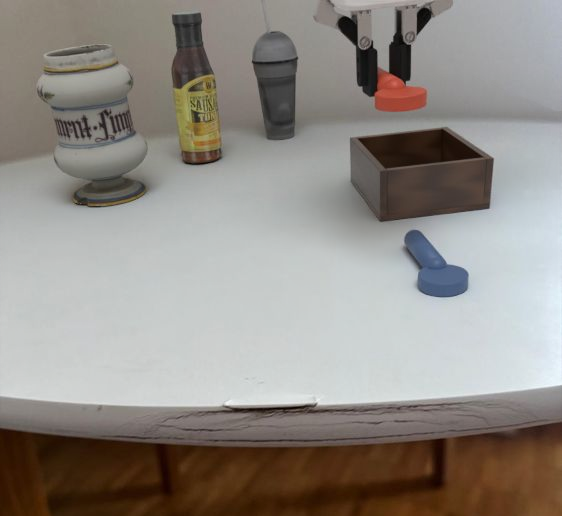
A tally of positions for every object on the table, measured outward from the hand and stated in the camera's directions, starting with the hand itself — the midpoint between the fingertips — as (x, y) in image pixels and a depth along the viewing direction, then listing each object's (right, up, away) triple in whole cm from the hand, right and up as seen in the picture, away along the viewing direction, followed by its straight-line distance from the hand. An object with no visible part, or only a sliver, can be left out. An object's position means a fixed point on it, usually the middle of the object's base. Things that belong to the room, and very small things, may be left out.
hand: (383, 90), depth 64 cm
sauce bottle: (-21, +6, +41) cm, 47 cm away
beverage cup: (-10, +13, +50) cm, 52 cm away
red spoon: (0, -1, -2) cm, 2 cm away
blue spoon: (+5, -16, +1) cm, 17 cm away
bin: (+7, -4, +20) cm, 22 cm away
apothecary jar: (-33, -2, +29) cm, 44 cm away
